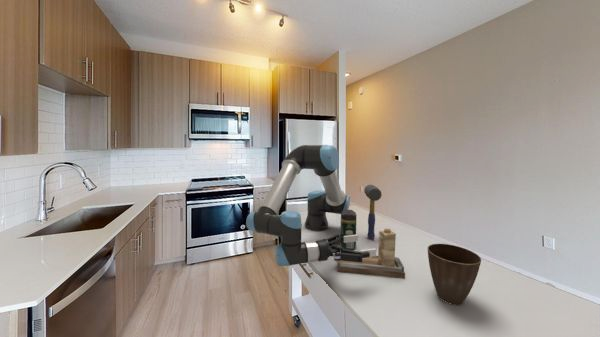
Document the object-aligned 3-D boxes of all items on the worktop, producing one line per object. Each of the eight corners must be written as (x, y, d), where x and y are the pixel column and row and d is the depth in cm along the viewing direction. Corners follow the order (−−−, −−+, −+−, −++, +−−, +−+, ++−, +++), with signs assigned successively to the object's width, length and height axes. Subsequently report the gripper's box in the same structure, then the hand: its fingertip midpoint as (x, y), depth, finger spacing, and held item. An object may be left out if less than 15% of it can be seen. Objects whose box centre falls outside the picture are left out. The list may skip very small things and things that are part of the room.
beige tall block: (377, 263, 96) (379, 228, 95) (388, 261, 98) (389, 227, 96) (383, 267, 93) (385, 231, 91) (394, 266, 94) (395, 230, 92)
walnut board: (337, 256, 106) (338, 249, 106) (396, 261, 102) (397, 254, 101) (337, 271, 93) (337, 263, 93) (404, 278, 89) (405, 269, 89)
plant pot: (420, 281, 87) (423, 241, 85) (466, 288, 82) (469, 246, 81) (431, 307, 72) (434, 260, 71) (486, 318, 68) (491, 267, 67)
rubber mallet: (380, 243, 120) (382, 187, 118) (366, 243, 121) (368, 187, 118) (375, 234, 133) (376, 183, 130) (362, 234, 133) (363, 183, 131)
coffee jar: (340, 241, 123) (340, 208, 121) (355, 242, 122) (356, 208, 120) (340, 249, 113) (341, 213, 112) (356, 250, 112) (357, 214, 110)
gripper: (306, 246, 99) (351, 240, 104) (328, 279, 75) (384, 269, 80) (306, 229, 98) (351, 225, 103) (328, 257, 74) (385, 249, 79)
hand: (366, 244), depth 92 cm, fingers open, 13 cm apart
